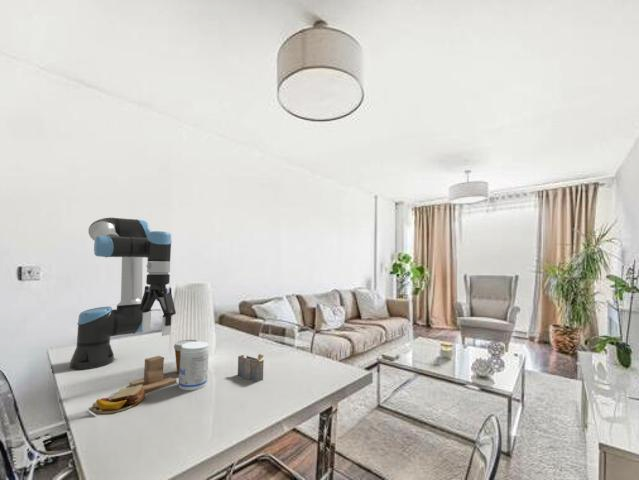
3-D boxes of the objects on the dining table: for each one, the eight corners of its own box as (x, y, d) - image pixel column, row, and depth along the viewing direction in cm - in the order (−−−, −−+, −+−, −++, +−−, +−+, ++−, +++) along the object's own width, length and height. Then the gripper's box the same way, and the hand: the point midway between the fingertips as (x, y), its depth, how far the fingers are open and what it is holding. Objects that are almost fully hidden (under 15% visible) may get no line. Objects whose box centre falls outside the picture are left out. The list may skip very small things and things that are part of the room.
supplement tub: (173, 386, 110) (175, 344, 111) (198, 379, 117) (200, 339, 118) (186, 394, 104) (188, 350, 105) (212, 386, 111) (214, 344, 112)
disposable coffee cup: (189, 378, 118) (190, 346, 119) (167, 376, 120) (168, 344, 121) (203, 369, 127) (204, 340, 128) (182, 367, 129) (183, 338, 130)
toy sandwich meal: (107, 398, 101) (107, 383, 101) (150, 396, 103) (151, 381, 103) (82, 417, 89) (83, 400, 89) (132, 415, 90) (133, 398, 91)
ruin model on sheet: (263, 380, 118) (264, 354, 119) (258, 383, 116) (258, 356, 116) (243, 373, 124) (244, 349, 125) (237, 376, 122) (238, 351, 123)
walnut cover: (129, 385, 109) (130, 359, 110) (160, 376, 118) (161, 351, 119) (145, 393, 103) (146, 365, 104) (176, 383, 112) (177, 357, 113)
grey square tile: (127, 387, 109) (127, 385, 109) (160, 376, 119) (160, 375, 119) (144, 395, 102) (144, 394, 102) (178, 384, 112) (178, 383, 112)
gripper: (131, 272, 117) (128, 329, 116) (167, 274, 103) (164, 339, 102) (151, 272, 123) (148, 326, 122) (187, 274, 109) (185, 335, 108)
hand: (155, 332), depth 112 cm, fingers open, 13 cm apart
